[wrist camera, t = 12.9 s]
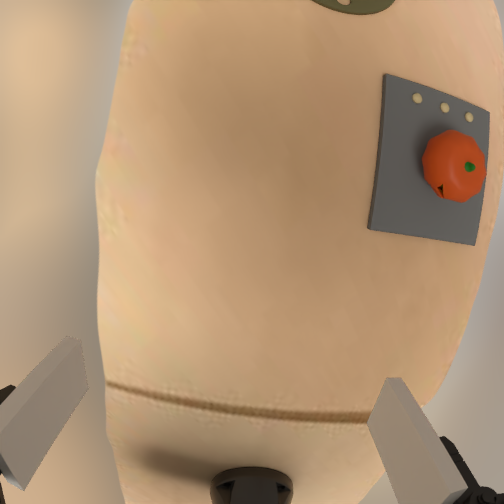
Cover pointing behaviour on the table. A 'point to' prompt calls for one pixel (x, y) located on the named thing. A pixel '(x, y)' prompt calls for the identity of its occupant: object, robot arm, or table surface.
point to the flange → (357, 6)
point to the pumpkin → (454, 166)
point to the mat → (410, 163)
